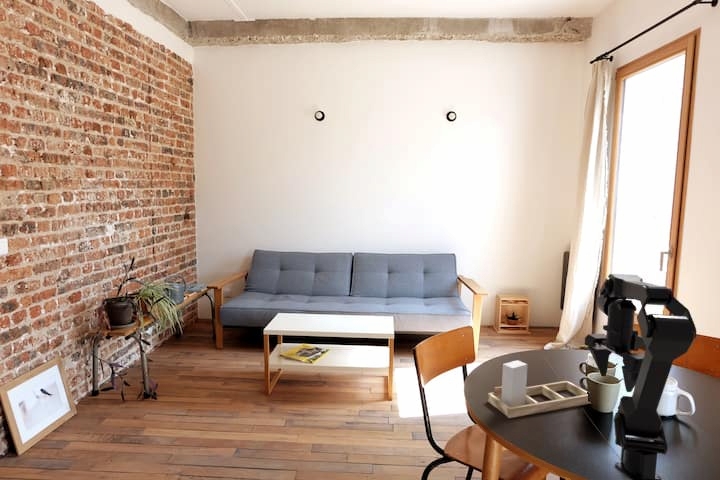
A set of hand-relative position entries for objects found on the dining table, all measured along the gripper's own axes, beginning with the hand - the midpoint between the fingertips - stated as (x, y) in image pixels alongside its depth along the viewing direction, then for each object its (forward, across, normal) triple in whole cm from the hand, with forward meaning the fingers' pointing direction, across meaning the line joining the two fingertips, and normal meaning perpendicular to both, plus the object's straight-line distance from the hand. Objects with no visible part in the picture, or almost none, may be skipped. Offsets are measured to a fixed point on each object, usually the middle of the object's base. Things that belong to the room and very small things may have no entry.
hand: (615, 383), depth 114 cm
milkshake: (+13, +29, -16) cm, 36 cm away
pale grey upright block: (+13, +16, +19) cm, 28 cm away
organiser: (+13, +18, +10) cm, 24 cm away
